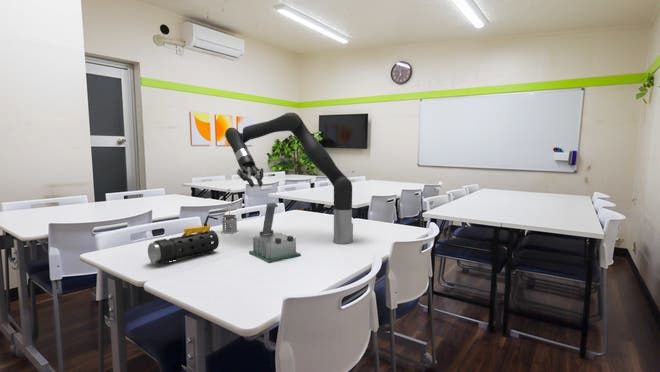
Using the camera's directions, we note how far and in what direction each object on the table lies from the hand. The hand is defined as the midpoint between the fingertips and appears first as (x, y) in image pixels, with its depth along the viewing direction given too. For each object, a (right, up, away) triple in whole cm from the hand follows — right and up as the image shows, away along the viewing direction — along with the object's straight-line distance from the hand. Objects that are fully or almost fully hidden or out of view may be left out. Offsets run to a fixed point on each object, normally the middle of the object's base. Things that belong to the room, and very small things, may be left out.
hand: (257, 185), depth 169 cm
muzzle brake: (-28, -32, -15) cm, 45 cm away
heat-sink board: (+10, -31, -9) cm, 34 cm away
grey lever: (+8, -16, -8) cm, 20 cm away
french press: (-23, -27, +33) cm, 49 cm away
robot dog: (-31, -29, +11) cm, 44 cm away
